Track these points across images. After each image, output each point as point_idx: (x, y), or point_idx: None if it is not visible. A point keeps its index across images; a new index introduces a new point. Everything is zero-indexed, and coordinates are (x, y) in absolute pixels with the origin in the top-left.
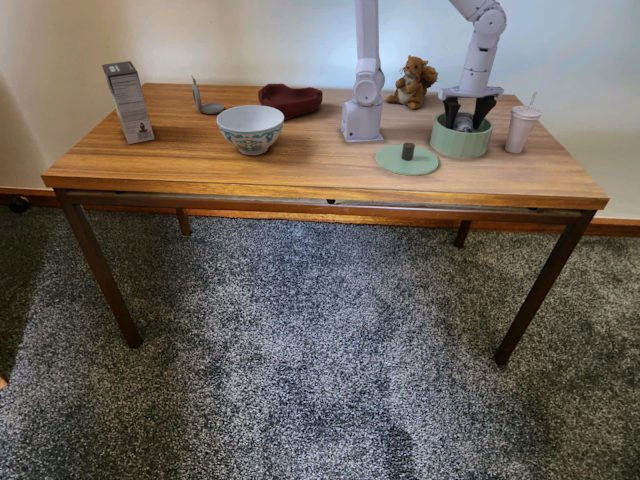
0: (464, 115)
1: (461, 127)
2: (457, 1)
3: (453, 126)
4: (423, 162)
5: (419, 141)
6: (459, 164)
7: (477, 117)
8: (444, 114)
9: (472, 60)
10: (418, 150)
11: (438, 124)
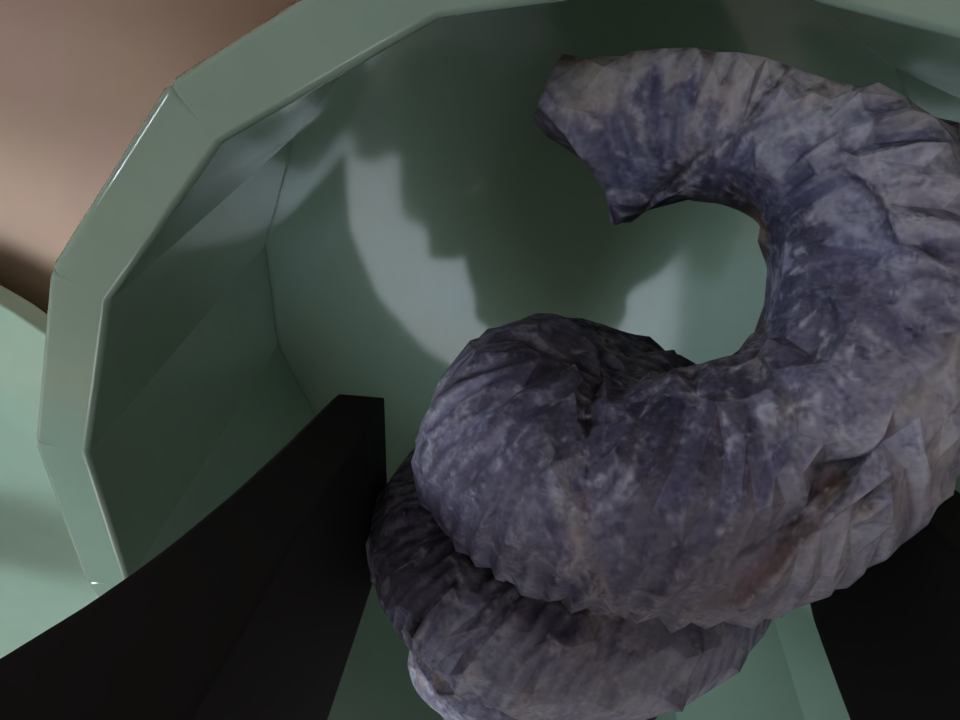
0: (659, 613)
1: (441, 709)
2: None
3: (369, 590)
4: (64, 592)
5: (130, 42)
6: None
7: (904, 698)
8: (417, 27)
9: None
10: (33, 409)
11: (85, 559)
